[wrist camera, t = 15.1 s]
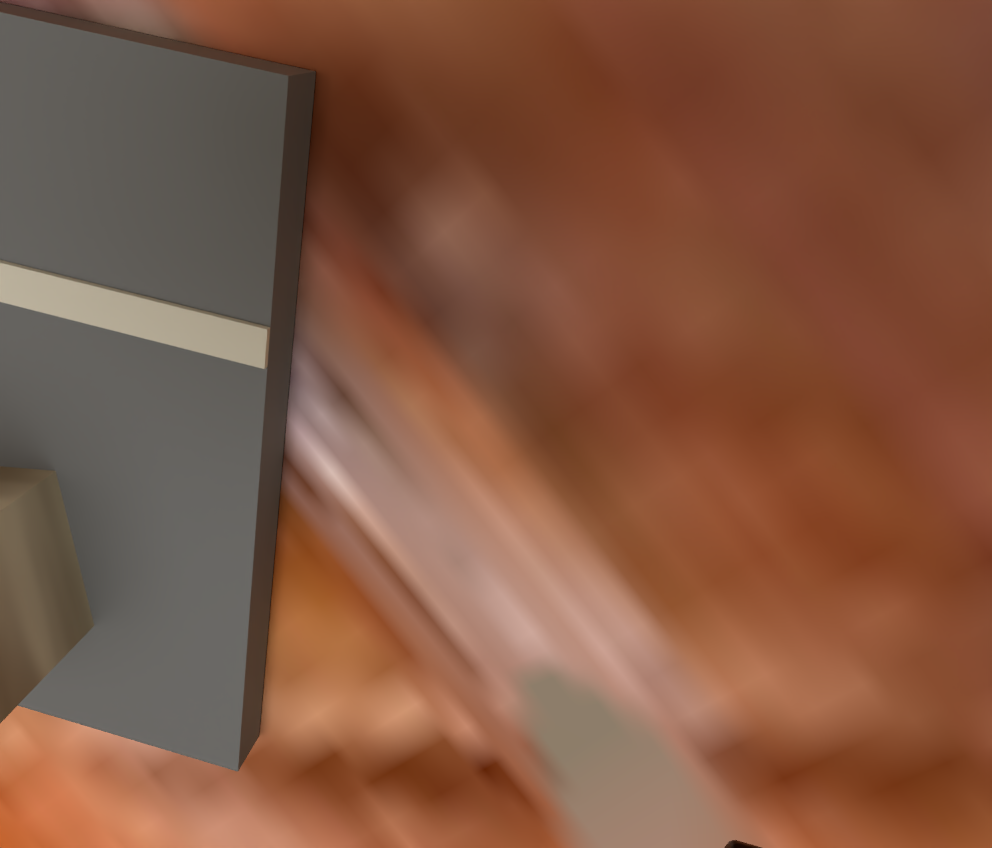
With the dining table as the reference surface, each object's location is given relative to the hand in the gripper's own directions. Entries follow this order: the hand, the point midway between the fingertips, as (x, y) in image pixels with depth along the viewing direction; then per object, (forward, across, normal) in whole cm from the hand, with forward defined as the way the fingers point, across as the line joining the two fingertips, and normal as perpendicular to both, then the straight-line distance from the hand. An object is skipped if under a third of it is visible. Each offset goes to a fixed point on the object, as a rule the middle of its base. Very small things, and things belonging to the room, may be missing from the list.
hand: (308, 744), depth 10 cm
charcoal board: (+13, +12, +5) cm, 18 cm away
